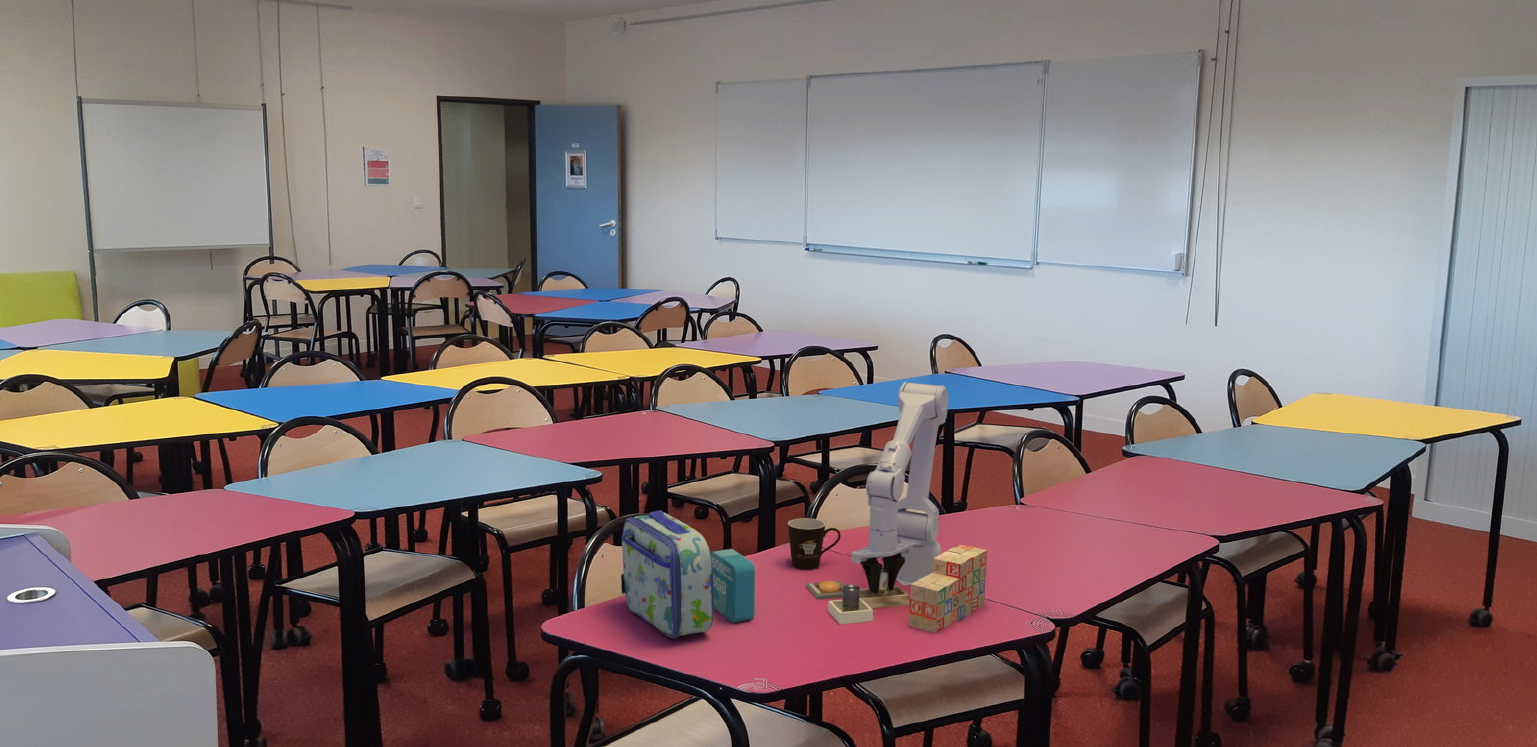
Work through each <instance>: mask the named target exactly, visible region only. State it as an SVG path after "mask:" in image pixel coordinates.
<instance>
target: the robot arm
mask: <svg viewBox="0 0 1537 747" xmlns="http://www.w3.org/2000/svg"><path fill="white" fill-rule="evenodd" d="M949 401H950V400H949V393H948V390H947V387H946V386H945V385H934V384H933V385H932V384H923V383H915V382H914V383H913V382H909V381H904V382H903V384H902V385H900V388H899V391H898V397H897V402H898V408H899V412H900V415H899V418H898V422H897V425H896V429H895V433H894V435H893V439H892V440H888V442H886V443H885V446H884V449H883V451H882V454H881V455H880V459H879V461H878V464H877V466H876V469H874V470H873V471H870V472H869V474H868V476H867V479H866V484H865V491H866V496H867V505H868V506H870V508H869V534H868V536H869V537H868V538H869V539H868V540H869V541H868V543H867V545H868V546H865V547H863V548H860V549H857V550H855V551H852V552H851V555H850V556H851V557H850V558H851V562H852V563H855V564H857V565H858V564H860V566H861V567H862V569H863V572H864V574H865V577H866V580H867V584H868V588H869V590H870V591H871V592H872V593H874V594H877V593H878V590H879V578H880V573H881V569H882V568H885V569H888V570H889V590H890V591H891V590H893V588H894V586H895V583H896V581H897V582H898V583H900V584H901V585H902V586H911V584H912V583H914V582H916V581H918V580H919V579H921V578H923V577H925V576H927V575H929V574H931V573H933V560H934V558H935V557H937V556H939V555H941V554H942V549H941V545H940V543H939V541H938V540H936V539H937V537H938V535H939V532H940V521H939V519H940V518H939V517H940V512H939V509H938V507H937V506H936V505H935V503H933V502H932V501H931V500H930V499H929V496H930V487H931V482H932V473H933V466H934V465H933V464H934V459H935V451H936V443H937V436H938V431H939V427H940V426H941V425H943V424H945V423H946V419H947V414H948V407H949V403H950V402H949ZM912 441H913V442H912ZM911 443H913V445H912V450H911V447H910V445H911ZM910 459H911V460H910ZM909 462H910V466H909V468H910V469H909V474H908V481H907V489H906V496H904V497H903V498H901V497H902V494H903V493H904V487H905V486H904V485H905V481H906V480H905V479H906V476H905V472H906V470H907V467H908V465H909ZM909 510H914V511H909ZM916 511H920V512H916ZM922 512H923V513H922ZM881 558H882V563H880V562H879V560H878V559H881Z"/></svg>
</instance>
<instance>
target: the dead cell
mask: <svg viewBox="0 0 1537 747" xmlns="http://www.w3.org/2000/svg"><path fill="white" fill-rule="evenodd" d="M860 589H861V588H860V587H859V586H858V585H855V584H845V586H843V595H842V599H841V600H842V612H849V611H859V593H860Z"/></svg>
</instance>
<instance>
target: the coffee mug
mask: <svg viewBox="0 0 1537 747" xmlns="http://www.w3.org/2000/svg"><path fill="white" fill-rule="evenodd" d="M787 526H788V527H787V528H788V537H789V538H788V539H789V548H790V559H791V566H792V567H793V568H794V569H796V570H800V571H801V570H802V571H812V570H816V569H819V568H820V565H821V559H822V558H821V557H822V555H824V553H826V552H828V551H829V550H831V549H832V548H833V547H835V546H836V545H837V544H838V542H839V541H840V539H841V537H842V536H841V532H840V530H839V529H838V528H835V527H829V528H827V529H826V522H825V521H822V520H821V519H816V518H809V517H808V518H805V517H804V518H795V519H791V520H789V521H788V522H787ZM830 531H831V532H832V531H834V532H836V533H837V535H838V536H837V539H836V540H835V541H834V542H833V543H832V544H831V545H829V546H827V547H825V548H824V549H823V544H824V538H825V536H826V535H827V534H828V532H830Z"/></svg>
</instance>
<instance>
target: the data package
mask: <svg viewBox="0 0 1537 747" xmlns="http://www.w3.org/2000/svg"><path fill="white" fill-rule="evenodd" d="M710 554H711V559H712V567H713V585H714V610H716V611H717V612H719V614H721V615H722V616H724V617H725V619H727V620H728V621H729V622H730V623H740V622H744V621H749V620H753V619H754V618H755V614H756V613H755V612H756V566H755V564H754V563H753V561H751V560H750V559H748V558H746V557H745V556H744V555H742V554H741V553H739V552H737V550H735V549H732V548H729V549H722V550H716V551H712V552H710Z"/></svg>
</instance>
